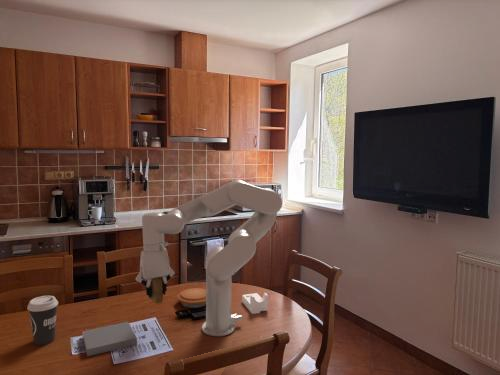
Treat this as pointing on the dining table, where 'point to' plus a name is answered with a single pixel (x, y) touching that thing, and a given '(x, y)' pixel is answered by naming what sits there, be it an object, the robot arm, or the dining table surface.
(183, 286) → the dining table surface
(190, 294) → the pie
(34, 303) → the coffee cup
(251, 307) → the bracket
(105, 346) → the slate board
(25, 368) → the dining table surface
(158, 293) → the rock
